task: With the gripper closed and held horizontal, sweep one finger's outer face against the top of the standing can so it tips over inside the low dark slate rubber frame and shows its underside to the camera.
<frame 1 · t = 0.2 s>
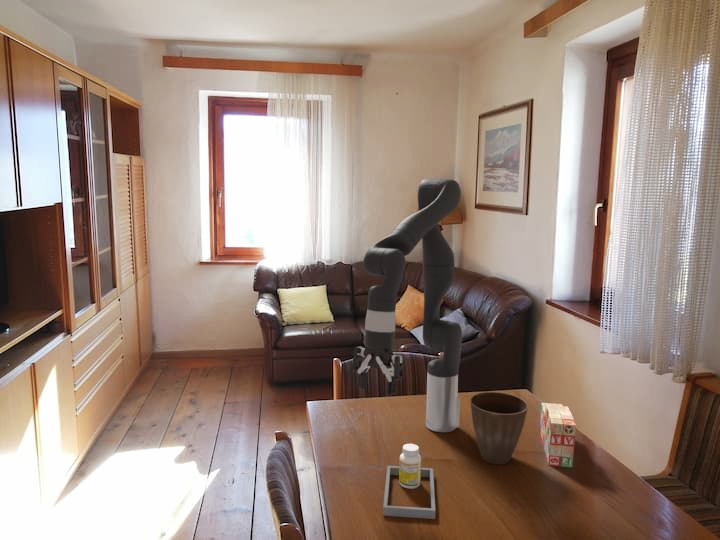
hand: (375, 392, 139), 22 cm above the table, tool pointing down, fingers open, 8 cm apart
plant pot: (496, 458, 151), on the table
stack of blocks: (554, 449, 157), on the table
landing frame: (409, 494, 133), on the table
supplement bottle: (409, 484, 138), resting in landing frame
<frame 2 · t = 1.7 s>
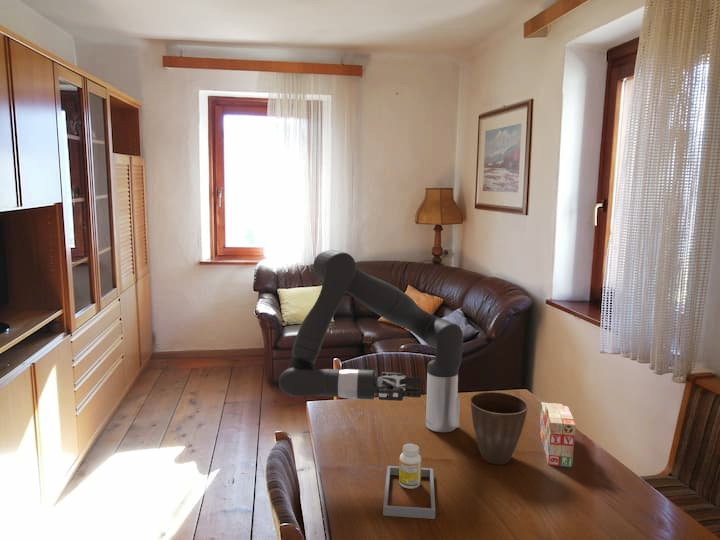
hand: (420, 387, 142), 22 cm above the table, tool horizontal, fingers open, 7 cm apart
nothing on the table moved.
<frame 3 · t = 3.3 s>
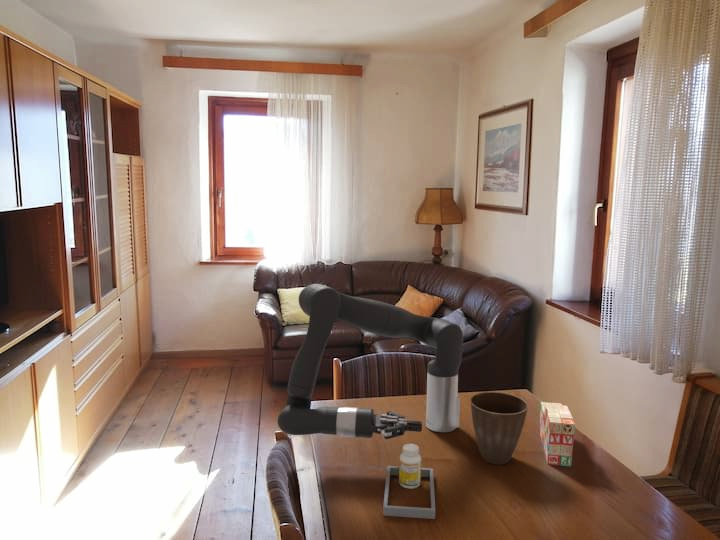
hand: (421, 426, 143), 12 cm above the table, tool horizontal, fingers closed
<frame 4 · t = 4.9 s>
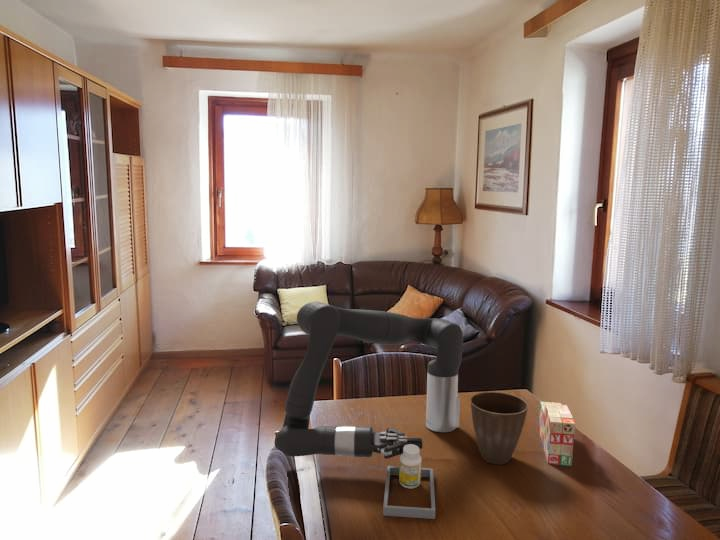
hand: (422, 443, 140), 9 cm above the table, tool horizontal, fingers closed
supplement bottle: (409, 482, 138), resting in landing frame, touching gripper
everything else where it was.
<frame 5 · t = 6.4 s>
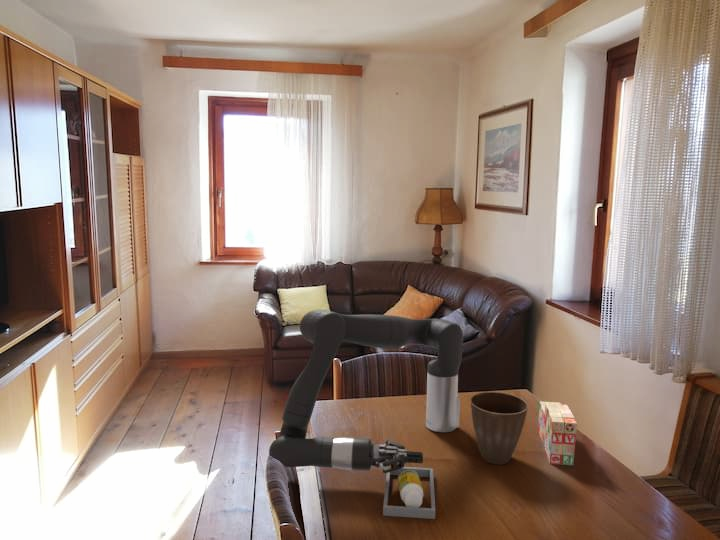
hand: (422, 457, 134), 8 cm above the table, tool horizontal, fingers closed
supplement bottle: (408, 478, 135), point 3 cm above the table
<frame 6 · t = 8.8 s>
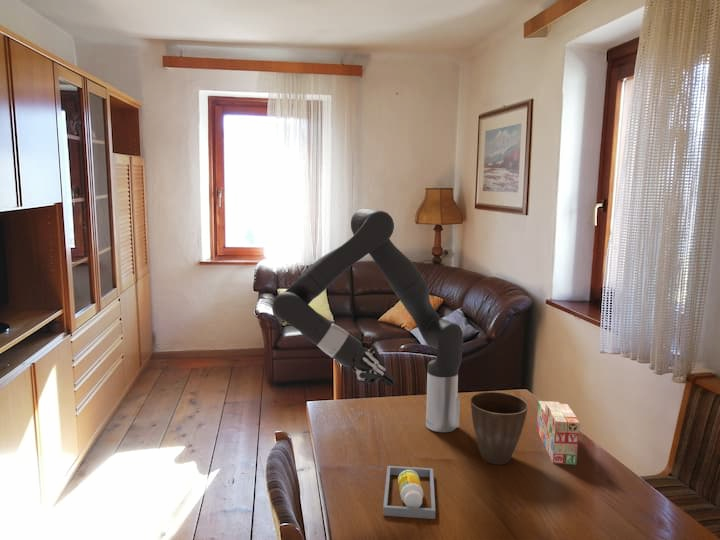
hand: (393, 383, 142), 23 cm above the table, tool tilted 55°, fingers closed
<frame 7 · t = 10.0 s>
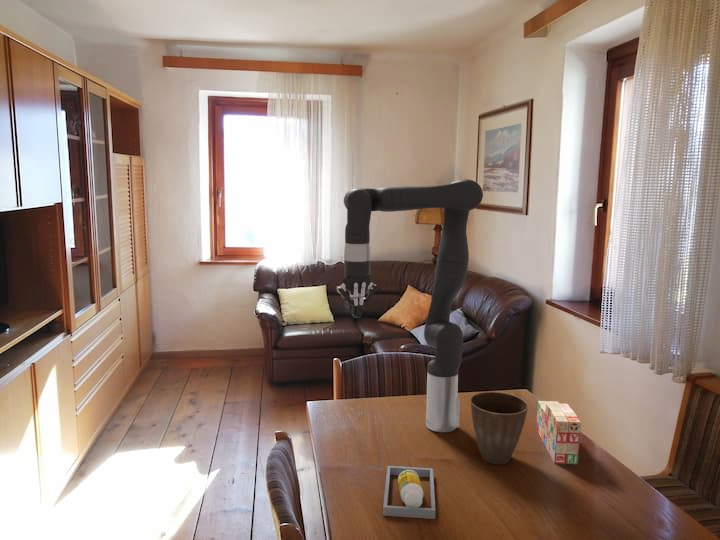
hand: (356, 317, 162), 35 cm above the table, tool pointing down, fingers closed
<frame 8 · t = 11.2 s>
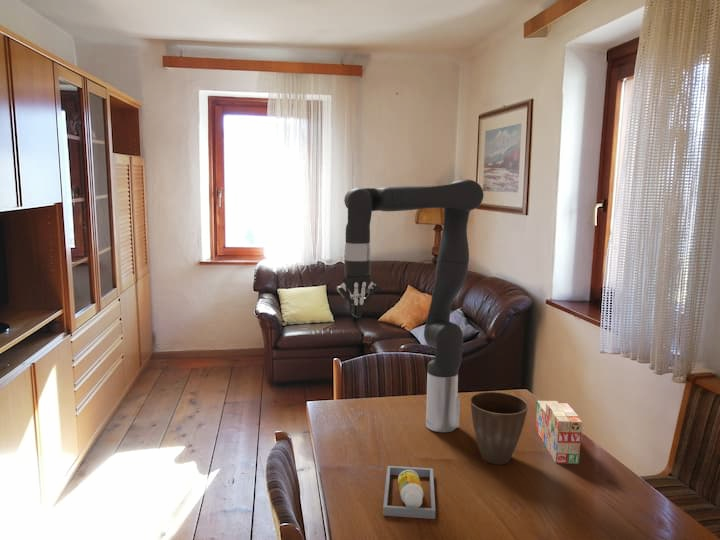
hand: (357, 316, 162), 35 cm above the table, tool pointing down, fingers closed
at the end: supplement bottle tilted 91°; supplement bottle inside the target area on the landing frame (2.3 cm from its centre), point 2.7 cm above the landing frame's base; the gripper is holding nothing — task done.
